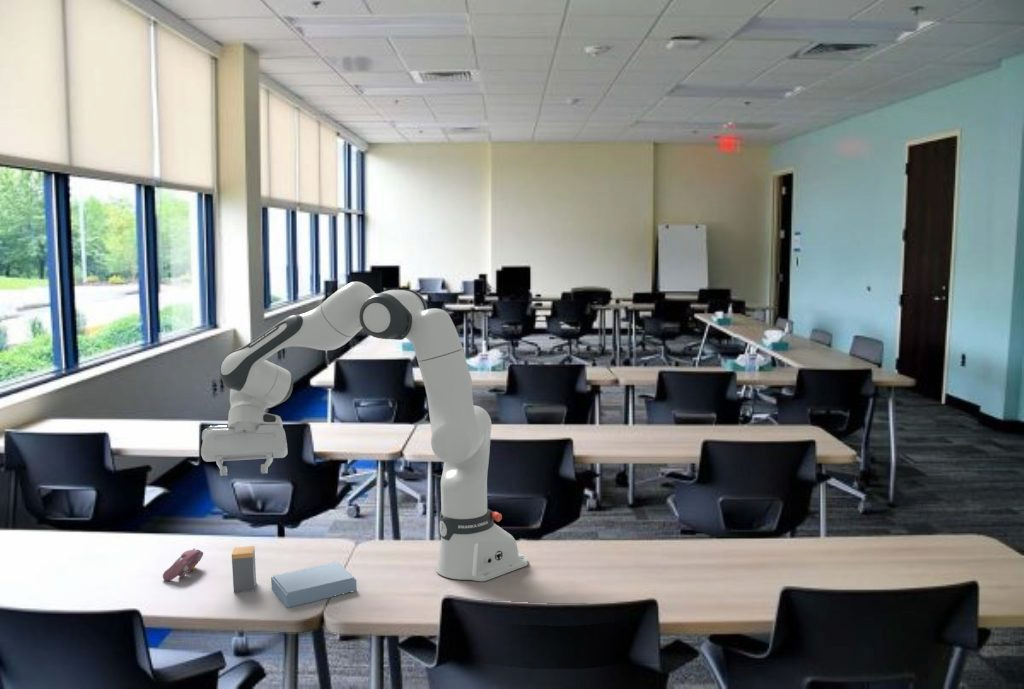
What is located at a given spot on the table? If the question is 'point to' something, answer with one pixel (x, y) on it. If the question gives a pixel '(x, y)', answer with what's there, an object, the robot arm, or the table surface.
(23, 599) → the table surface
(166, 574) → the video game controller
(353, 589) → the stand
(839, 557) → the table surface
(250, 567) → the block
